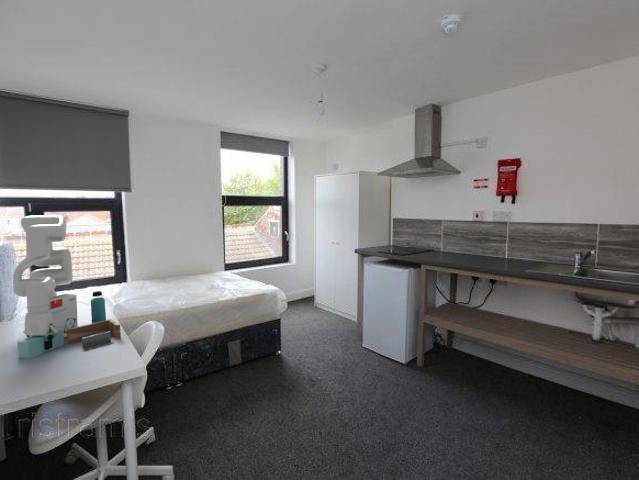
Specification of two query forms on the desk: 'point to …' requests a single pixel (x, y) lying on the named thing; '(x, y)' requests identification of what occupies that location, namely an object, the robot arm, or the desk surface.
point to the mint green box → (37, 345)
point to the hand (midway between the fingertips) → (41, 348)
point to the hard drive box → (64, 312)
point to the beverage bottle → (98, 308)
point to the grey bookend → (96, 341)
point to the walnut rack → (93, 330)
